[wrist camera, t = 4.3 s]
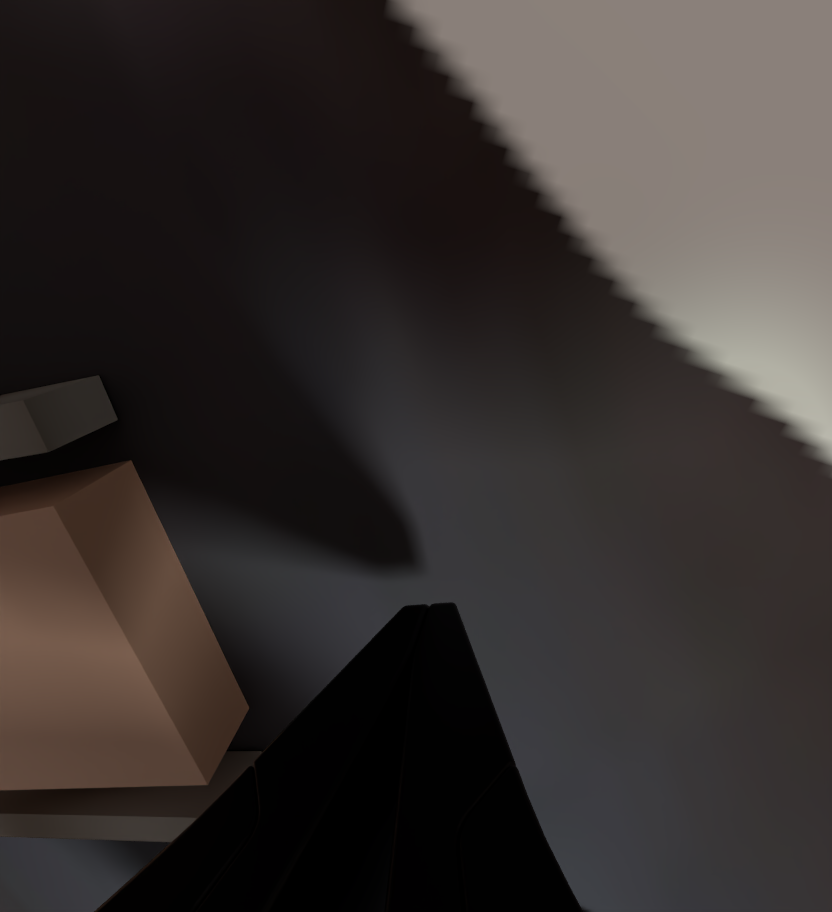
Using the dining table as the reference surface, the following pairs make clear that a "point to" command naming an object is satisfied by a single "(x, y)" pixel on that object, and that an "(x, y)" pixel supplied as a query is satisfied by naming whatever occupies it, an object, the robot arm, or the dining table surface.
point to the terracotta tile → (103, 643)
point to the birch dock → (92, 809)
